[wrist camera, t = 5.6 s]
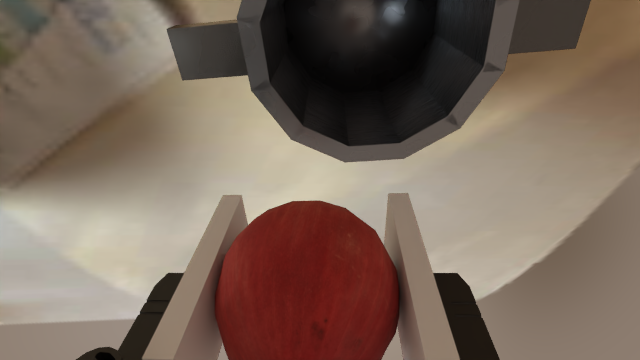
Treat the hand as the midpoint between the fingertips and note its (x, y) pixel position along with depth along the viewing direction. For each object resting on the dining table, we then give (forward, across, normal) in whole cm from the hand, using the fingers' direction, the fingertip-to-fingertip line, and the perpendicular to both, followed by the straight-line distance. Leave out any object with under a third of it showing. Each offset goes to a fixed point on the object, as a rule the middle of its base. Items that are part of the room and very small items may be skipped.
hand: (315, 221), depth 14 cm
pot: (+16, +3, +6) cm, 17 cm away
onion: (+1, 0, 0) cm, 1 cm away
